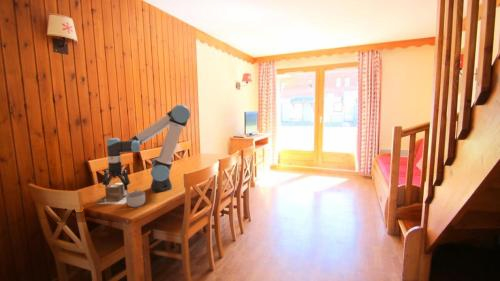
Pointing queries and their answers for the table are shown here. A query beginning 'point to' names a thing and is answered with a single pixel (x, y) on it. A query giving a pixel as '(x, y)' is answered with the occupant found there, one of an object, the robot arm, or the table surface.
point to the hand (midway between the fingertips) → (117, 194)
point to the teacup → (135, 198)
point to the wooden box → (115, 192)
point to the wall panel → (103, 201)
